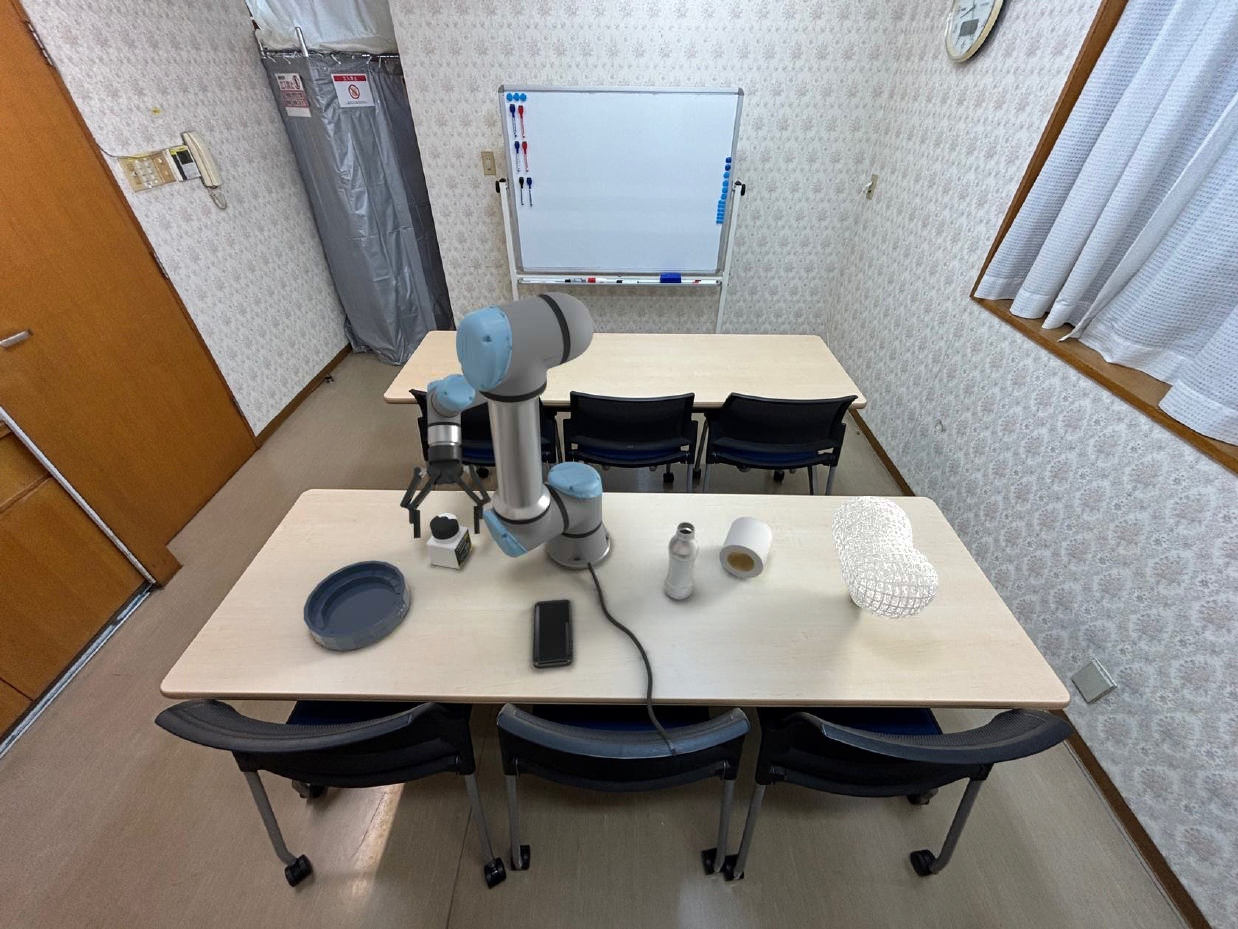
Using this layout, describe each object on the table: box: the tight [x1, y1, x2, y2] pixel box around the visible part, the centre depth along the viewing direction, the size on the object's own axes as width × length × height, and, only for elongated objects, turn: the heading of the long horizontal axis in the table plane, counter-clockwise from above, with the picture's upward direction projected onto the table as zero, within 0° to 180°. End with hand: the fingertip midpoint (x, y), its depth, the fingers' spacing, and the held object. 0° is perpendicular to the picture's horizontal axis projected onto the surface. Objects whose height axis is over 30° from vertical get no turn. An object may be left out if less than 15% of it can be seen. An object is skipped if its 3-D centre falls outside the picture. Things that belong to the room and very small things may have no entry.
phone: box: [532, 599, 574, 669], centre depth 105 cm, size 8×1×15 cm
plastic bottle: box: [664, 521, 700, 600], centre depth 108 cm, size 6×7×20 cm
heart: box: [831, 495, 939, 620], centre depth 106 cm, size 28×16×22 cm, turn 175°
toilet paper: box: [718, 516, 773, 579], centre depth 118 cm, size 10×10×10 cm
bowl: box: [303, 559, 411, 651], centre depth 108 cm, size 20×20×5 cm
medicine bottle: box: [425, 512, 473, 570], centre depth 118 cm, size 7×7×12 cm
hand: (447, 536), depth 118 cm, fingers open, 13 cm apart
